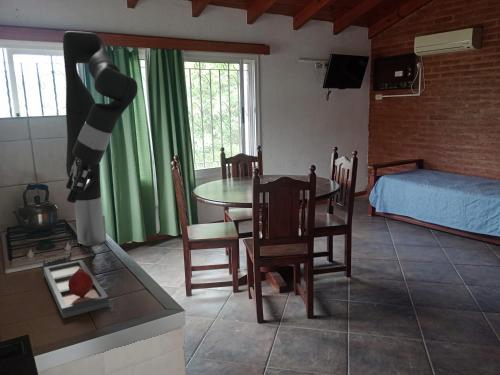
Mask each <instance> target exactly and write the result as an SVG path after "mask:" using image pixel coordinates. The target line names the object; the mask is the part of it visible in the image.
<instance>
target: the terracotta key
mask: <svg viewBox="0 0 500 375" xmlns="http://www.w3.org/2000/svg"><path fill="white" fill-rule="evenodd" d="M62 297H63V299H64V301H65V303H66V305H69V304H73V303H77V302H81V301H85V300H89V299H93V298H97V297H99V296H98V294H97V293H96V291H95V290H94V288H92V289H91V290H90V291H89V292H88V293H87V294H86V295H85V296H84V297H79V296H76V295H74V294H67V295H63V296H62Z"/></svg>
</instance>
